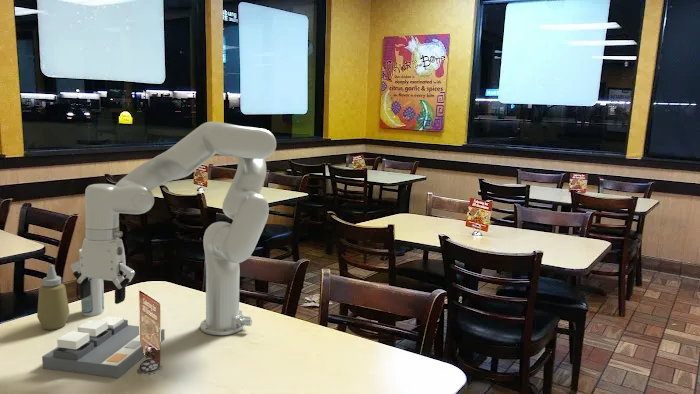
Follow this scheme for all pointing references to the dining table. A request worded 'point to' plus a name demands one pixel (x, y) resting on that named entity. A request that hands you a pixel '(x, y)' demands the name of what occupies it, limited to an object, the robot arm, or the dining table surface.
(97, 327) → the switch
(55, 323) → the squeeze bottle
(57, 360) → the switch box
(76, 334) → the switch
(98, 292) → the spray can
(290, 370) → the dining table surface
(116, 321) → the switch
